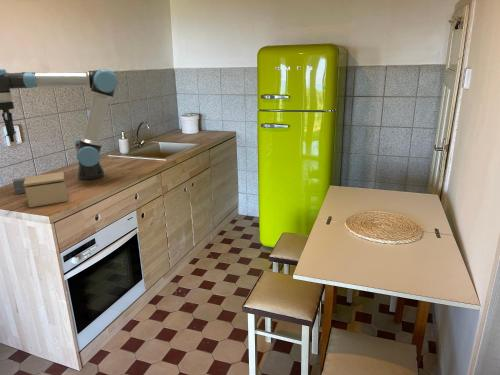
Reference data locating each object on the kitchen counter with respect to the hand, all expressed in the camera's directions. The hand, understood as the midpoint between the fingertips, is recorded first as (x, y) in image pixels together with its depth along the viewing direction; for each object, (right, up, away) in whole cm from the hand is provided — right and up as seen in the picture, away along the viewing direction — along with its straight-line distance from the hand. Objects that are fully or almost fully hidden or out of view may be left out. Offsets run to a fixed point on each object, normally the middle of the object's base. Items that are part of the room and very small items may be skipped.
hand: (14, 147), depth 196 cm
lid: (+21, -17, -8) cm, 28 cm away
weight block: (0, -23, +8) cm, 25 cm away
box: (+21, -27, -5) cm, 34 cm away
